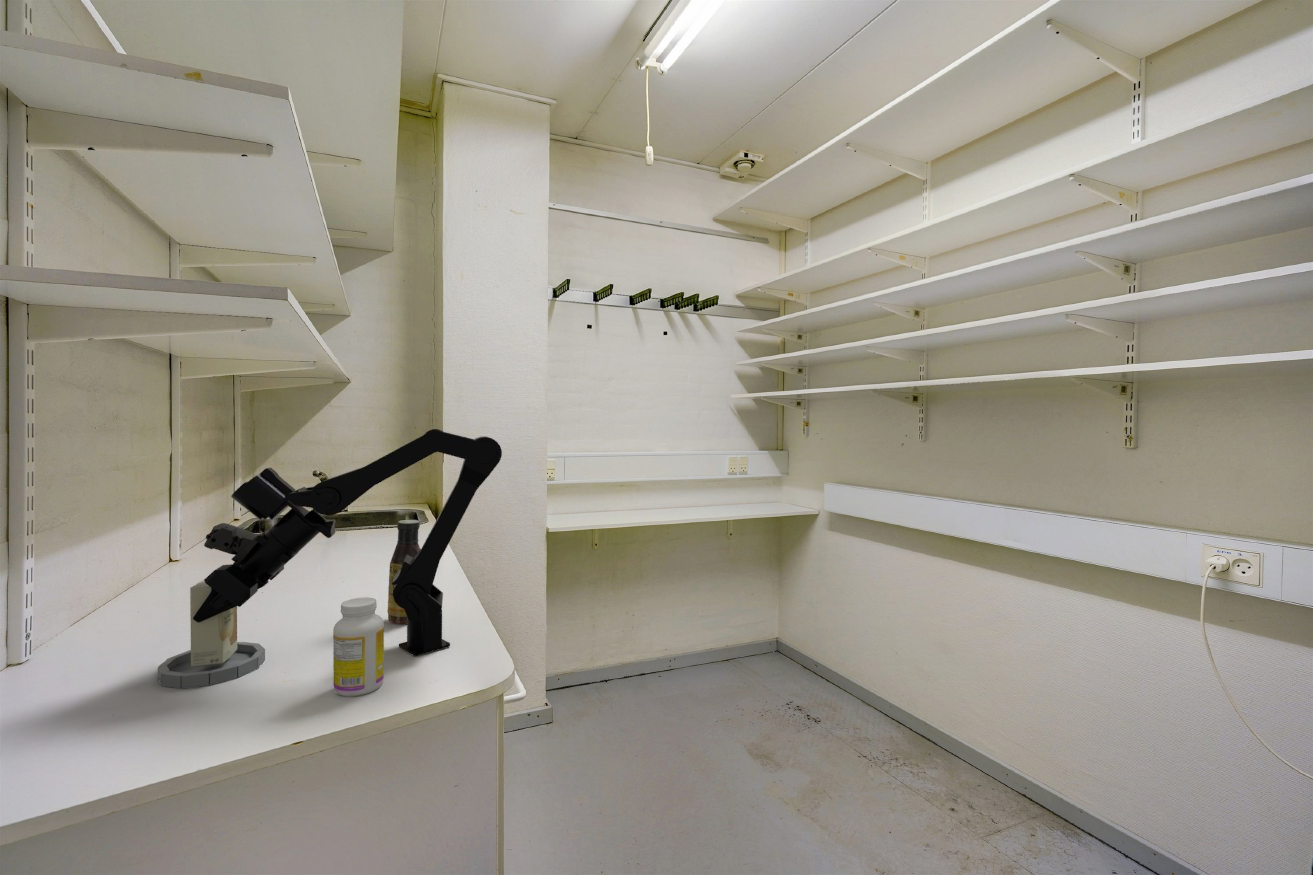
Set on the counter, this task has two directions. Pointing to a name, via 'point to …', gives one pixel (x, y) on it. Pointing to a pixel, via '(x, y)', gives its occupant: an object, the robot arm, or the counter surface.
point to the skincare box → (211, 631)
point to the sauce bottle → (404, 547)
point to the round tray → (210, 667)
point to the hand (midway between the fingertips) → (204, 613)
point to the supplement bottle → (358, 648)
